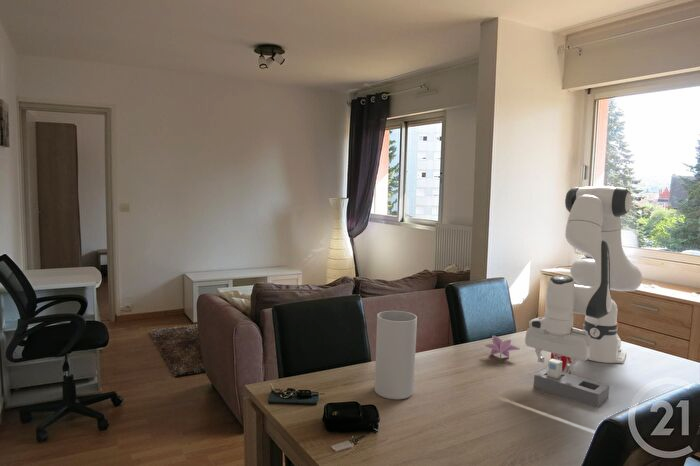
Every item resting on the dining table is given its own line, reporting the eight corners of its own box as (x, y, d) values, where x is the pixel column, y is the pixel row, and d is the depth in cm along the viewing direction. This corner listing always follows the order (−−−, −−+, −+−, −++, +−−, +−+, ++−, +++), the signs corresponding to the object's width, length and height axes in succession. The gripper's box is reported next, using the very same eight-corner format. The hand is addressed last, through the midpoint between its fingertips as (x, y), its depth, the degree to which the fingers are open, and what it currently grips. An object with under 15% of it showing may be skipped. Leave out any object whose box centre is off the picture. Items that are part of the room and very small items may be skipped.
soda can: (572, 378, 173) (575, 345, 172) (551, 376, 174) (554, 343, 173) (568, 371, 180) (570, 339, 179) (547, 369, 181) (550, 337, 180)
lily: (523, 365, 187) (522, 340, 191) (508, 360, 179) (507, 334, 183) (494, 366, 195) (493, 342, 199) (479, 361, 187) (479, 336, 191)
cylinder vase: (416, 387, 161) (420, 313, 158) (408, 403, 149) (412, 323, 146) (380, 381, 165) (383, 309, 162) (369, 396, 153) (372, 318, 150)
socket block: (546, 381, 170) (547, 367, 169) (608, 400, 156) (609, 385, 155) (533, 389, 163) (534, 374, 162) (597, 410, 149) (598, 394, 148)
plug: (550, 384, 165) (552, 358, 164) (560, 387, 163) (562, 361, 162) (545, 387, 162) (547, 361, 162) (555, 390, 160) (557, 364, 159)
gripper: (594, 331, 156) (591, 372, 157) (532, 317, 170) (529, 355, 171) (587, 335, 151) (584, 377, 153) (524, 320, 165) (521, 359, 167)
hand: (554, 366), depth 162 cm, fingers open, 8 cm apart
